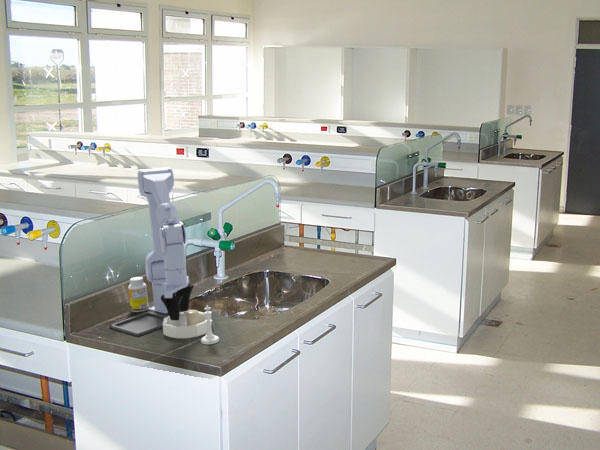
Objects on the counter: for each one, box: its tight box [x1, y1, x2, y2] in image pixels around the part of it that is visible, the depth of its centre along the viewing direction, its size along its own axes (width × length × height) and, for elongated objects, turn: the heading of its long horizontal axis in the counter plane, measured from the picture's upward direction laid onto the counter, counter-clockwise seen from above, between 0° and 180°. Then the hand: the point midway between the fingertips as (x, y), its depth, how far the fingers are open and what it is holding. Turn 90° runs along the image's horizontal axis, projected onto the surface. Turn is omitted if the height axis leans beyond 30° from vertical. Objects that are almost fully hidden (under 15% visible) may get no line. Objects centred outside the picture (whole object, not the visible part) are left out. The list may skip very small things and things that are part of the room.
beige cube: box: [183, 309, 199, 326], centre depth 201 cm, size 4×4×4 cm
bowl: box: [162, 310, 212, 339], centre depth 199 cm, size 13×13×4 cm
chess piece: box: [200, 304, 220, 345], centre depth 190 cm, size 5×5×10 cm
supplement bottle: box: [127, 276, 150, 313], centre depth 219 cm, size 6×6×10 cm
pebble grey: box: [172, 314, 187, 327], centre depth 197 cm, size 4×4×4 cm
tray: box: [109, 311, 168, 337], centre depth 206 cm, size 14×13×1 cm
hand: (179, 315), depth 197 cm, fingers open, 7 cm apart
